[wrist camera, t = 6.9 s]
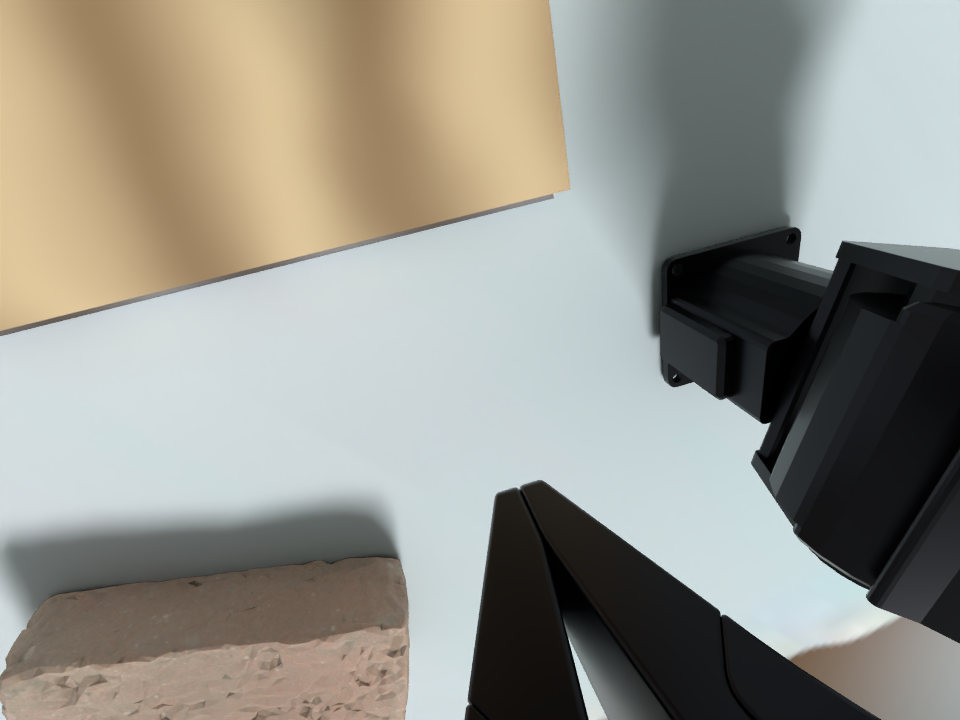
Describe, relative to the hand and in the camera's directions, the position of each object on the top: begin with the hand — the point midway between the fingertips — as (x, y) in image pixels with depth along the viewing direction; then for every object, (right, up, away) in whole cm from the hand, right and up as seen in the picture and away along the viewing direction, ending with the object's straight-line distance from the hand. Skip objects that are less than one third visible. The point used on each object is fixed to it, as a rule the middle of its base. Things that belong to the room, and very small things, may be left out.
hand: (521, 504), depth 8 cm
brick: (-13, -11, +17) cm, 24 cm away
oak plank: (-10, +10, +5) cm, 15 cm away
